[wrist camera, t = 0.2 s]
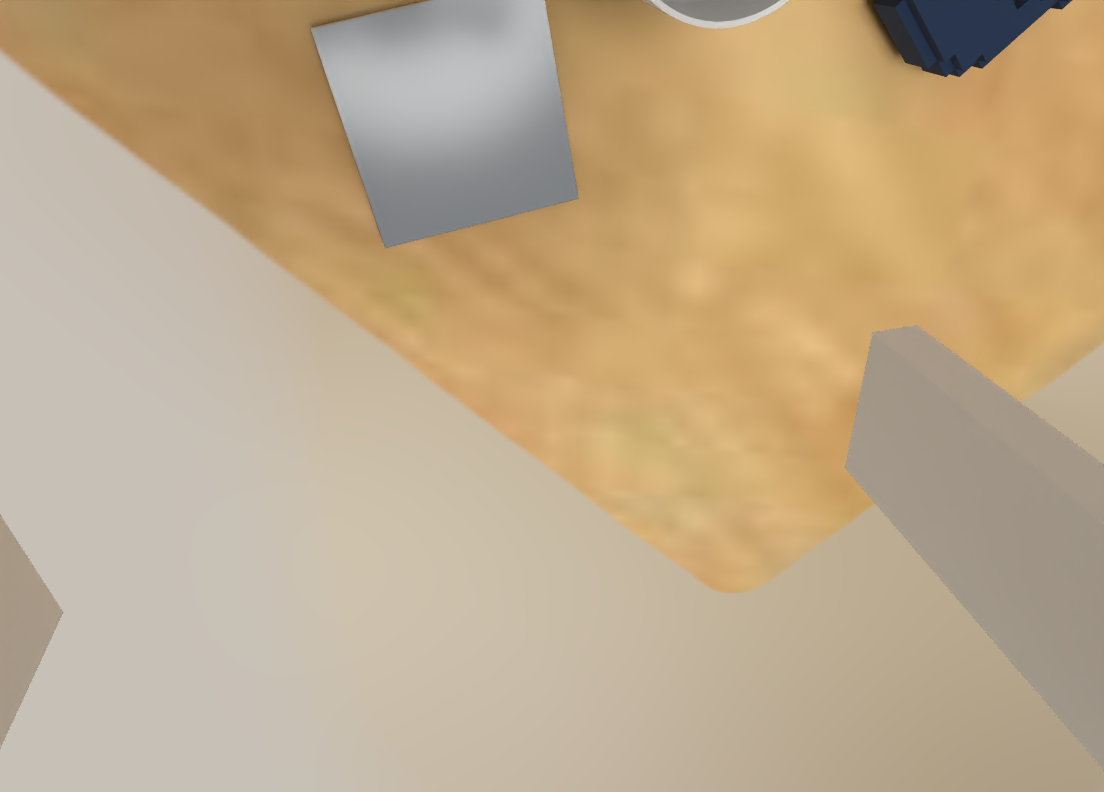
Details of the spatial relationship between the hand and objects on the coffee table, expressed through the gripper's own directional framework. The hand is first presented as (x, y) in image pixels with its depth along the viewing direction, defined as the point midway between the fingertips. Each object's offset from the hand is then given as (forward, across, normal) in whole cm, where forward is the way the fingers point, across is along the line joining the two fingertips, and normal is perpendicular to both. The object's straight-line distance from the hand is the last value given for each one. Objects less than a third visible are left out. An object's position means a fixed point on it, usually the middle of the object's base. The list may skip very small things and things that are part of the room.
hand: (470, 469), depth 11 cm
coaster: (+27, +2, -1) cm, 27 cm away
